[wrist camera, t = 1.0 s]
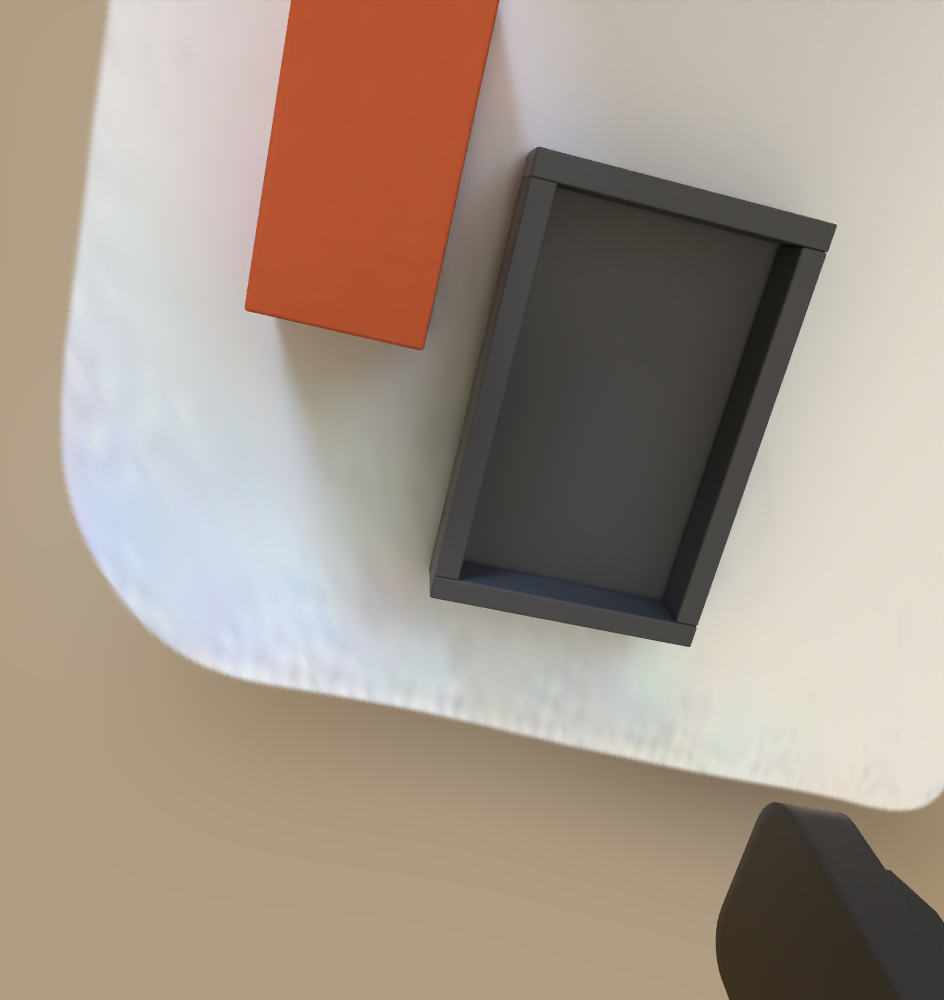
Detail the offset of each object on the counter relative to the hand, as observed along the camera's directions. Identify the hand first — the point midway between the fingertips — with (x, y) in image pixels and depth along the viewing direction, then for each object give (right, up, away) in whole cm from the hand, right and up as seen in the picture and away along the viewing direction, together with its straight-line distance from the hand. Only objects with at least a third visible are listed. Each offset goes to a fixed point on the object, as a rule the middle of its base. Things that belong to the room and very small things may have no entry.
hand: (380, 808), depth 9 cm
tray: (+5, +6, +20) cm, 22 cm away
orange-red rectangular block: (-2, +14, +17) cm, 22 cm away
